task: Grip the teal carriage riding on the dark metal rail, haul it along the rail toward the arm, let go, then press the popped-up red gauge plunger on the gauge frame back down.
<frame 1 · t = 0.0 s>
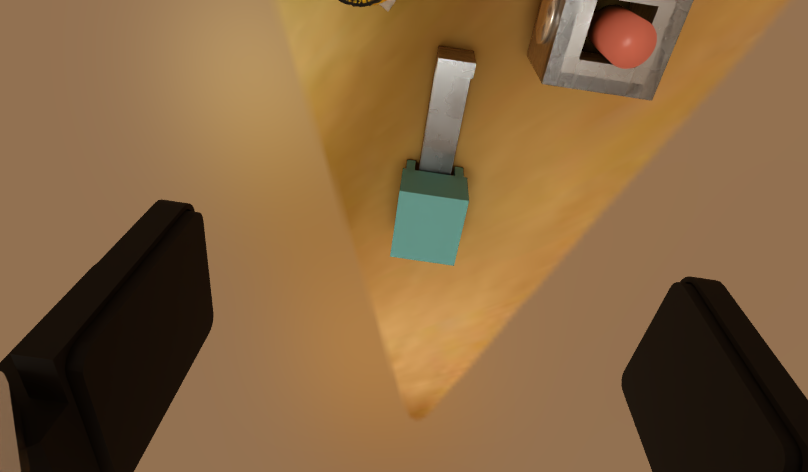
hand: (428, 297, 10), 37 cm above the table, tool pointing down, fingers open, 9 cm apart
gauge frame: (588, 12, 41), on the table
carriage: (428, 211, 48), point 4 cm above the table, slide at 4.5 cm
rail: (437, 152, 48), on the table
gauge plunger: (619, 35, 33), point 9 cm above the table, slide at 0.0 cm
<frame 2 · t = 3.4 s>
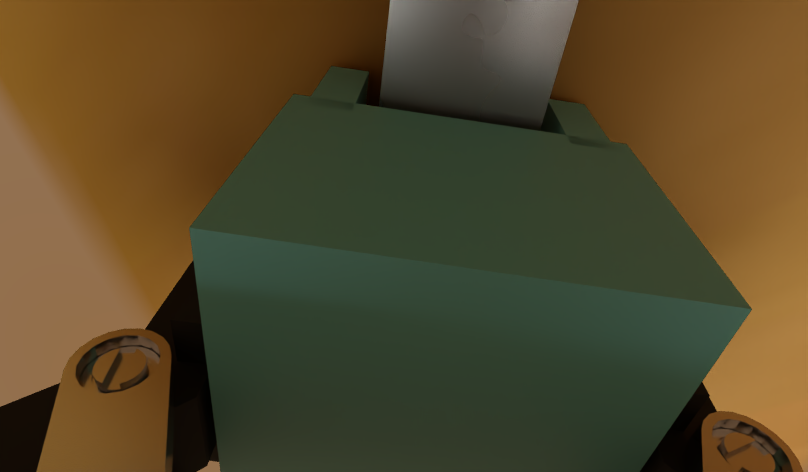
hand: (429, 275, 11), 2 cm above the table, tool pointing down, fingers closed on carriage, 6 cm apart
carriage: (428, 310, 10), point 3 cm above the table, slide at 4.5 cm, touching gripper
rail: (467, 32, 10), on the table
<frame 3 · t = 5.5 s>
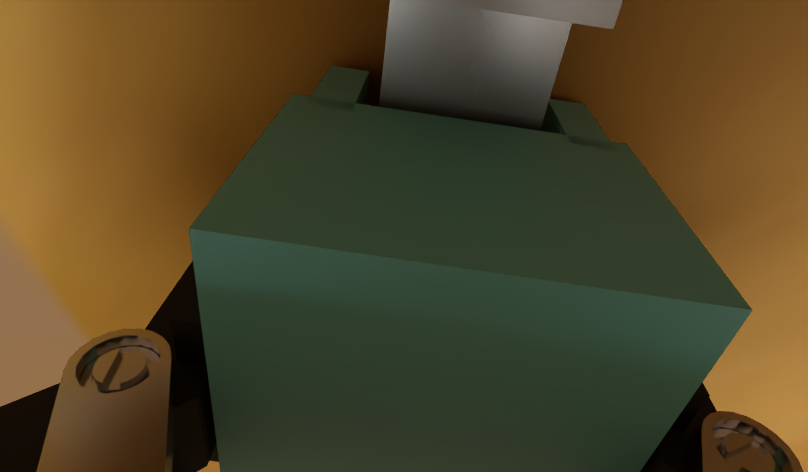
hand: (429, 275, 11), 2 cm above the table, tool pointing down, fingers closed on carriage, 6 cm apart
carriage: (428, 310, 10), point 4 cm above the table, slide at -2.9 cm, touching gripper
rail: (415, 303, 14), on the table
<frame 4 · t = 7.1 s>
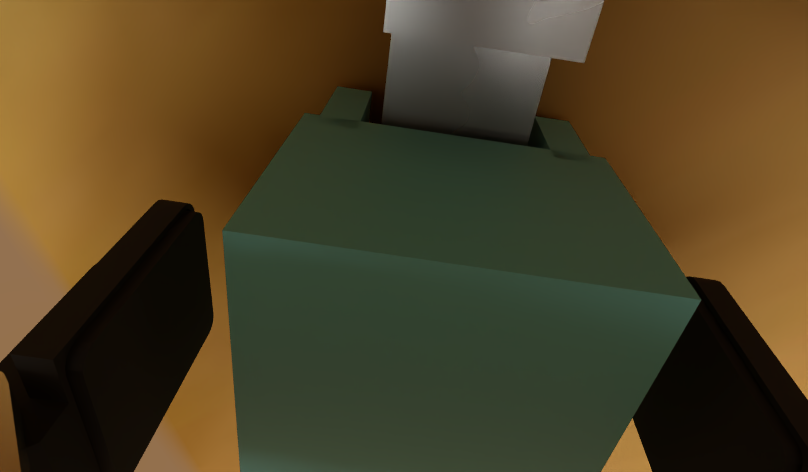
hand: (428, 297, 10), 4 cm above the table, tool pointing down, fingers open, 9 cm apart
carriage: (426, 309, 11), point 4 cm above the table, slide at -3.0 cm
rail: (414, 307, 15), on the table
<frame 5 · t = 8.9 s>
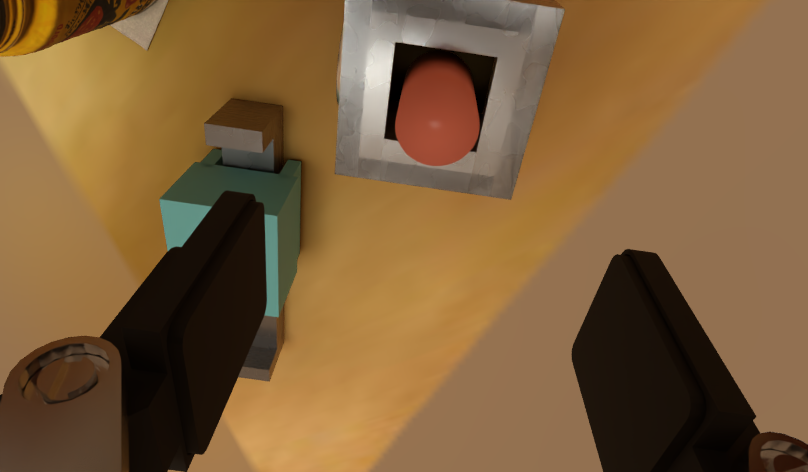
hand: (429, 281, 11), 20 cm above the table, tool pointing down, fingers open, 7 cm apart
gauge frame: (439, 51, 27), on the table
carriage: (242, 230, 30), point 3 cm above the table, slide at -3.0 cm
rail: (261, 238, 35), on the table
gauge plunger: (437, 104, 20), point 8 cm above the table, slide at 0.0 cm
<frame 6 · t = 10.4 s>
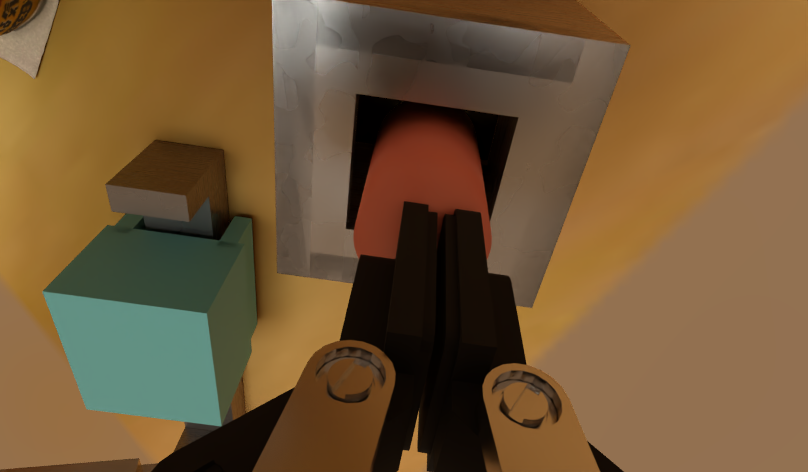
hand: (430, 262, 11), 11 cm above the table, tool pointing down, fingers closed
gauge frame: (429, 81, 20), on the table
carriage: (174, 311, 23), point 4 cm above the table, slide at -3.0 cm
rail: (209, 306, 28), on the table
gauge plunger: (424, 186, 13), point 8 cm above the table, slide at 0.0 cm, touching gripper
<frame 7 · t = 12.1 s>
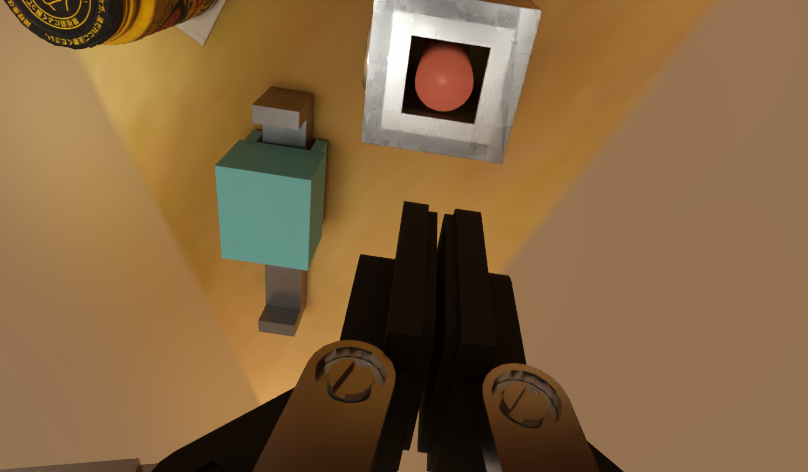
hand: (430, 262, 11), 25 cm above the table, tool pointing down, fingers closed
gauge frame: (444, 48, 33), on the table
carriage: (278, 198, 36), point 3 cm above the table, slide at -3.0 cm
rail: (290, 210, 40), on the table
gauge plunger: (444, 70, 28), point 6 cm above the table, slide at -2.8 cm
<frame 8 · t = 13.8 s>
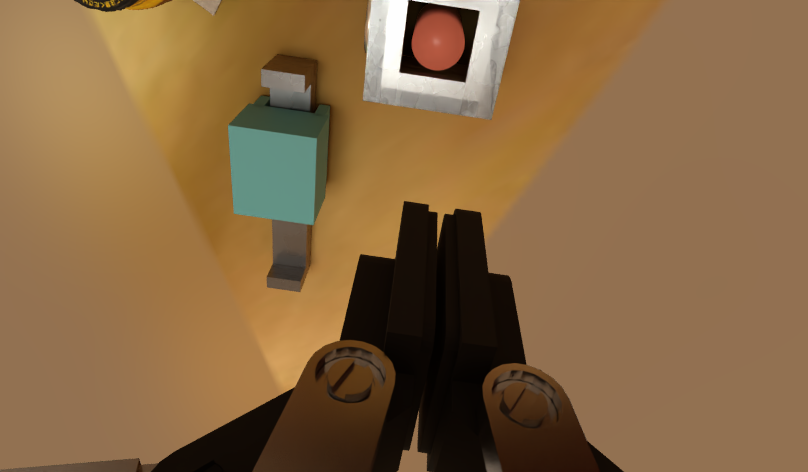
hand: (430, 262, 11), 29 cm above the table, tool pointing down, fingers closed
gauge frame: (439, 16, 35), on the table
carriage: (285, 158, 38), point 3 cm above the table, slide at -3.0 cm
rail: (295, 173, 43), on the table
gauge plunger: (438, 34, 31), point 6 cm above the table, slide at -2.8 cm
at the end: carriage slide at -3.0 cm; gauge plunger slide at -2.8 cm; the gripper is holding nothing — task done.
